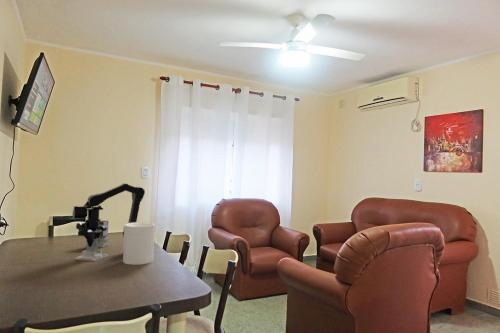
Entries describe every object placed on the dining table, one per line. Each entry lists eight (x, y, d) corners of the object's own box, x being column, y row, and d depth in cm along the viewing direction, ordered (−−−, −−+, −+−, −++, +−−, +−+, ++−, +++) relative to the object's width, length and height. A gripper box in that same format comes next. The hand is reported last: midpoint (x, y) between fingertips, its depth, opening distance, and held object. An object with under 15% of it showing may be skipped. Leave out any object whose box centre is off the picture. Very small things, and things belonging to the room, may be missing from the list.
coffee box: (108, 245, 218) (109, 220, 219) (102, 247, 212) (103, 222, 212) (94, 244, 219) (95, 219, 220) (89, 246, 213) (90, 221, 213)
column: (98, 250, 190) (98, 238, 190) (93, 252, 186) (94, 239, 186) (90, 249, 191) (91, 237, 191) (86, 251, 186) (86, 239, 187)
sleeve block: (107, 255, 194) (108, 248, 194) (95, 261, 182) (95, 253, 182) (88, 254, 195) (88, 247, 195) (75, 259, 183) (75, 252, 183)
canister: (144, 265, 176) (145, 227, 177) (116, 263, 180) (118, 225, 180) (158, 258, 192) (159, 223, 192) (133, 255, 195) (134, 221, 195)
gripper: (90, 215, 199) (89, 241, 199) (69, 219, 180) (68, 248, 180) (107, 215, 197) (106, 242, 197) (88, 220, 179) (87, 249, 179)
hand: (92, 245), depth 188 cm, fingers closed on column, 4 cm apart
